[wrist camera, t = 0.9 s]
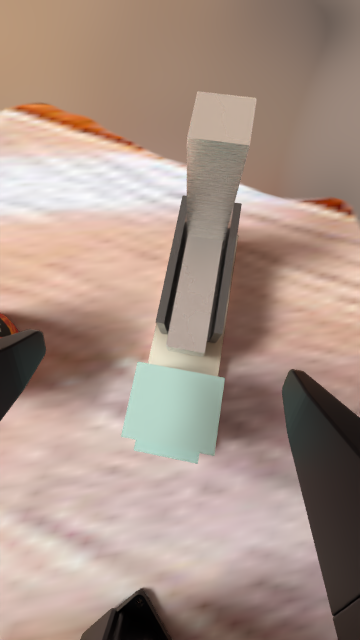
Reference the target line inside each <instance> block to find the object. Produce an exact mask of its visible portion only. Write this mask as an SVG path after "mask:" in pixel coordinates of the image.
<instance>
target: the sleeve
mask: <svg viewBox="0 0 360 640" xmlns="http://www.w3.org/2000/svg"><path fill="white" fill-rule="evenodd" d="M241 205H242V204H240V203H234V206H233V209H232V213H231V217H230V221H229V224H228V228H227V232H226V235H225V239H224V241H223V242H222V248H221V255H220V261H219V267H218V273H217V280H216V286H215V292H214V298H213V305H212V311H211V317H210V323H209V329H208V336H207V342H211V343H216V342H217V341H218V339H219V338H220V337H221V335H222V334H223V328H224V321H225V314H226V307H227V301H228V294H229V287H230V280H231V273H232V266H233V259H234V253H235V246H236V239H237V232H238V225H239V218H240V211H241ZM187 237H188V235H187V196H183V197H182V202H181V206H180V211H179V216H178V220H177V225H176V230H175V234H174V239H173V244H172V248H171V253H170V258H169V262H168V267H167V272H166V276H165V281H164V286H163V290H162V295H161V300H160V304H159V309H158V314H157V318H156V324H157V326H158V328H159V330H160V332H161V334H166V335H168V332H169V327H170V322H171V317H172V312H173V307H174V302H175V297H176V292H177V287H178V282H179V277H180V272H181V267H182V262H183V257H184V252H185V247H186V242H187Z"/></svg>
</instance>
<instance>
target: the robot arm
mask: <svg viewBox="0 0 360 640" xmlns="http://www.w3.org/2000/svg"><path fill="white" fill-rule="evenodd" d="M45 353H46V347H45V342H44V337H43V333H42V332H41V331H40V330H33V329H28V330H25V331H21V332H18V333H15V334H12V335H9V336H6V337H2V338H0V421H1V420H2V418H3V417H4V416H5V414H6V413H7V412H8V410H9V409H10V408H11V406H12V405H13V404H14V402H15V401H16V400H17V398H18V397H19V396H20V394H21V393H22V391H23V390H24V388H25V387H26V385H27V384H28V382H29V380H30V379H31V377H32V375H33V374H34V372H35V370H36V369H37V367H38V365H39V364H40V362H41V360H42V359H43V357H44V355H45ZM282 397H283V404H284V412H285V420H286V428H287V434H288V438H289V443H290V447H291V451H292V455H293V459H294V463H295V467H296V471H297V475H298V479H299V483H300V487H301V491H302V495H303V499H304V503H305V507H306V511H307V515H308V519H309V523H310V527H311V531H312V535H313V539H314V543H315V548H316V552H317V556H318V560H319V564H320V568H321V572H322V576H323V580H324V584H325V588H326V592H327V596H328V600H329V604H330V608H331V612H332V615H333V616H334V617H333V621H334V625H335V629H336V633H337V637H338V640H360V417H358V416H357V415H356V414H355V413H353V412H352V411H351V410H350V409H349V408H347V407H346V406H345V405H344V404H343V403H341V402H340V401H339V400H338V399H336V398H335V397H334V396H333V395H332V394H330V393H329V392H328V391H327V390H326V389H324V388H323V387H322V386H321V385H320V384H318V383H317V382H316V381H315V380H313V379H312V378H311V377H310V376H309V375H307V374H306V373H305V372H304V371H300V370H294V369H292V370H290V371H289V372H288V375H287V377H286V380H285V382H284V385H283V388H282ZM137 599H141V600H142V602H141V603H138V602H137ZM80 640H172V639H171V637H170V635H169V634H168V632H167V630H166V628H165V627H164V625H163V623H162V621H161V620H160V618H159V616H158V614H157V612H156V611H155V609H154V607H153V605H152V604H151V602H150V600H149V598H148V596H147V595H146V593H145V592H144V591H142V590H138V591H136V592H135V593H134V594H133V595H132V596H130V597H129V598H128V599H127V600H126V601H125V602H124V603H122V604H121V605H120V606H119V607H118V608H117V609H116V608H112V609H110V610H109V611H108V612H107V613H106V614H105V615H103V616H102V617H101V618H100V619H99V620H98V621H97V622H95V623H94V624H93V625H92V626H91V627H90V628H88V629H87V630H86V631H85V632H84V633H83V634H82V637H81V639H80Z"/></svg>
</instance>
